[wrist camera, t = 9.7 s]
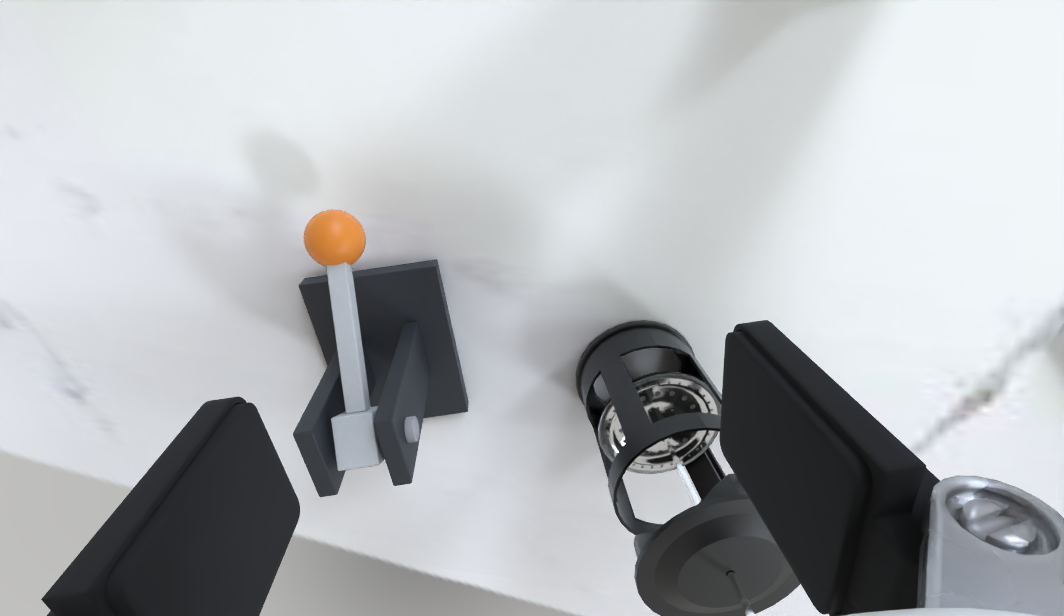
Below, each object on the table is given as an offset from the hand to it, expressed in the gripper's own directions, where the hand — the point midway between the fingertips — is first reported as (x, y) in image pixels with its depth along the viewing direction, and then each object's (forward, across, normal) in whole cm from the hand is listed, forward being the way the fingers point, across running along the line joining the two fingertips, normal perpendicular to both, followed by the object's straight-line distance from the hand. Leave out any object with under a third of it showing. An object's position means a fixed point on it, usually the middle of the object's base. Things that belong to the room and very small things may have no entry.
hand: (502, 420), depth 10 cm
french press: (+24, -9, +17) cm, 31 cm away
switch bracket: (+24, +9, +11) cm, 28 cm away
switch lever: (+18, +9, +7) cm, 22 cm away
